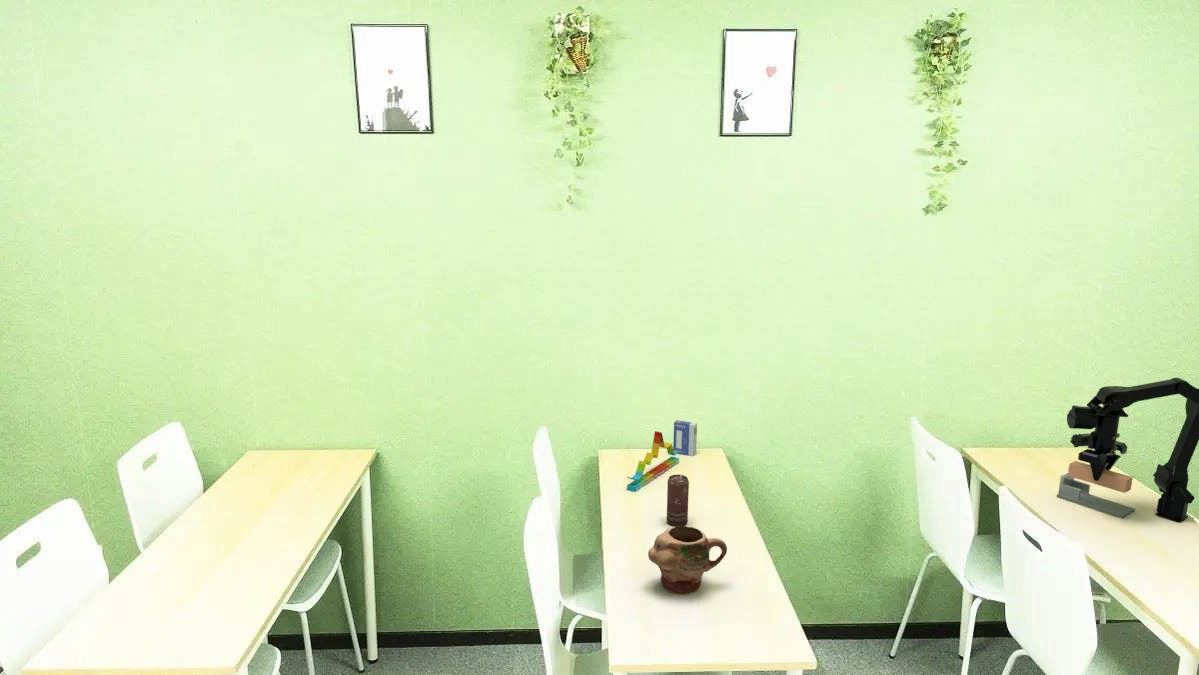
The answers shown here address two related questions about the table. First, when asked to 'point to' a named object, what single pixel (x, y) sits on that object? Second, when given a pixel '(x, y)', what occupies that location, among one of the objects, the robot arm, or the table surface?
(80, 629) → the table surface
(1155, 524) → the table surface
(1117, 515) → the board
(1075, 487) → the bracket
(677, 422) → the walkman
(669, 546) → the brown sculpted mug
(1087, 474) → the rail
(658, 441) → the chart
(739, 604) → the table surface
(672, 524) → the can
